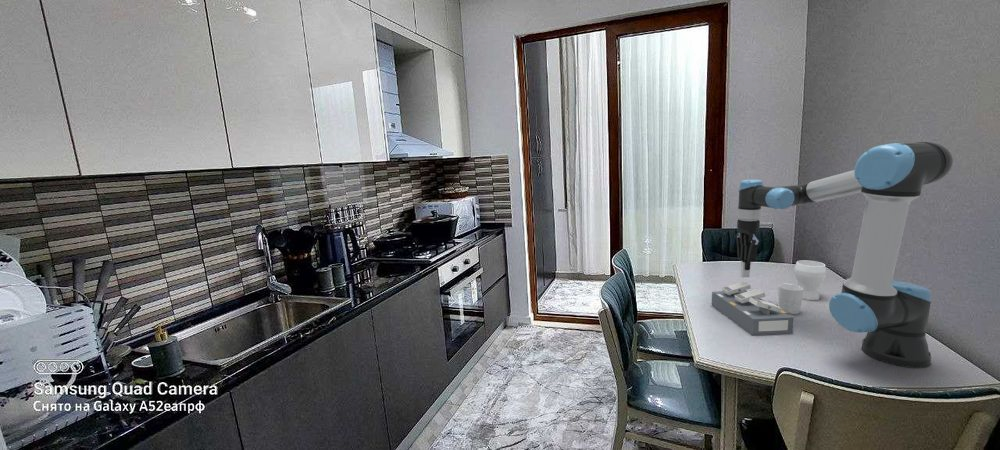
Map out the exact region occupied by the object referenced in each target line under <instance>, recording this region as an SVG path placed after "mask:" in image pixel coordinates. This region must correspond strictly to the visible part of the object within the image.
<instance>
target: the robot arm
mask: <svg viewBox="0 0 1000 450" xmlns="http://www.w3.org/2000/svg"><path fill="white" fill-rule="evenodd" d="M953 164H954V158H953V154H952V152H950V150H949V149H948V148H946V147H945V146H943V145H941V144H939V143H936V142H933V141H931V142H930V141H917V142H901V143H899V142H894V143H887V144H881V145H877V146H874V147H871V148H869V149H868V150H867V151H865V152H864V153H863V154H861V156H860V157H859V158H858V159H857V161H856V163H855V166H854V169H853V170H849V171H844V172H842V173H839V174H835V175H831V176H827V177H824V178H823V177H822V178H820V179H816V180H813V181H809V182H805V183H801V184H795V185H786V186H785V185H784V186H765V185H764V184H763V181H762V180H761V179H743V180H740V183H739V189H738V207H737V219H738V220H737V224H736V229H738V230H739V231H738V233H735V235H734V236H735V240H736V248H737V249H736V254H737V258H738V259H739V260H740V276H739V277H740V278H750V274H751V273H750V272H751V270H750V269H751V263H753V262H754V263H755V261H756V258H757V254H758V249H759V246H760V243H761V242H762V241H761V239H758V238H757V236H758V235H757V231H758V230H760V225H761V221H760V219H761V212H762V211H761V209H762V207H765V208H769V209H774V210H786V209H788V208H790V207H795V206H796V207H797V206H808V205H813V204H814V205H815V204H817V203H819V202H823V201H828V200H834V199H837V198H841V197H846V196H851V195H855V194H859V193H861V194H862V195H863V196H864V197H865V199H866V201H865V206H864V207H865V208H864V210H863V217H862V222H861V226H860V232H859V237H858V241H857V247H856V253H855V257H854V261H853V267H852V272H851V277H848V278H846V279H845V280H843V283H842V288H841V292H838V293H836V294H835V295H833V296H831V298H830V300H829V304H828V306H829V307H828V308H829V313H830V314H831V316H832V318H833V319H834V321H835V322H836V323H837V324H838V325H840V326H841V327H842V328H843V329H845V330H847V331H849V332H853V333H861V334H862V333H867V334H866V335H865V337H863V339H862V342H861V350H862V351H863V352H864V353H865V354H866V355H867V356H869V357H871V358H874V359H876V360H879V361H881V362H884V363H887V364H892V365H895V366H900V367H905V368H927V367H929V366H930V365H931V364H932V363H931V362H932V354H931V352H930V350H929V345H928V342H927V339H926V335H927V329H928V324H929V323H928V321H929V316H930V315H929V314H930V309H931V304H932V300H931V298H932V292H931V291H930V289H928V288H927V287H925V286H922V285H918V284H914V283H911V282H906V281H900V280H894V275H895V269H896V265H897V263H898V262H897V261H898V258H899V253H900V248H901V245H902V239H903V235H904V231H905V226H906V222H907V218H908V214H909V208H910V205H911V202H912V201H914V200H916V199H918V198H920V196H921V192H922V189H923V186H924V185H930V184H934V183H936V182H938V181H940V180H942V179H943V178H945V177H946V176H948V175H949V173H950V171H952V168H953Z"/></svg>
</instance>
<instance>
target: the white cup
mask: <svg viewBox="0 0 1000 450" xmlns="http://www.w3.org/2000/svg"><path fill="white" fill-rule="evenodd" d="M802 295H803V287H801V286H798V284H795V283H794V284H793V283H781V284H778V307H780V308H782V309H781V310H782V311H784V312H786V313H787V314H789V315H798V314H799V313H800V311H801V306H802V301H803V299H802Z"/></svg>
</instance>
